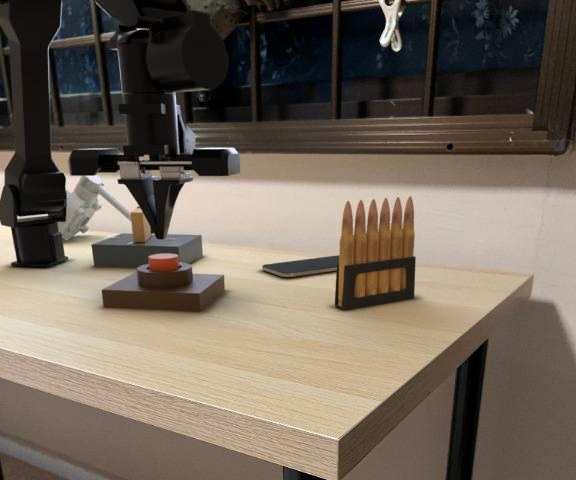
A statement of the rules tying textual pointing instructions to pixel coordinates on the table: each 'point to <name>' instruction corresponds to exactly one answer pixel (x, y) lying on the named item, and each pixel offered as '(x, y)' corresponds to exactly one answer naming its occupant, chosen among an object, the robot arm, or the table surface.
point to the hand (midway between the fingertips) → (161, 239)
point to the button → (163, 262)
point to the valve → (87, 206)
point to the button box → (164, 290)
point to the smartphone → (303, 266)
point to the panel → (144, 250)
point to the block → (140, 226)
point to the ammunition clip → (376, 256)
